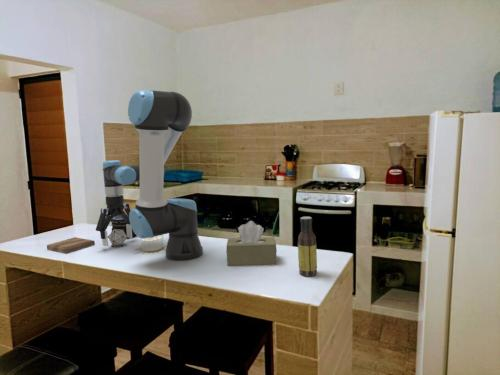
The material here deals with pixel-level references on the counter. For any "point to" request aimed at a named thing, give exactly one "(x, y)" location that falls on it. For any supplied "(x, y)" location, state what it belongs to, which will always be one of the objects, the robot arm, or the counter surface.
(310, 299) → the counter surface
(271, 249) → the tissue box
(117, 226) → the container
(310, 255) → the sauce bottle
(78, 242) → the board
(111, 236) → the game die
